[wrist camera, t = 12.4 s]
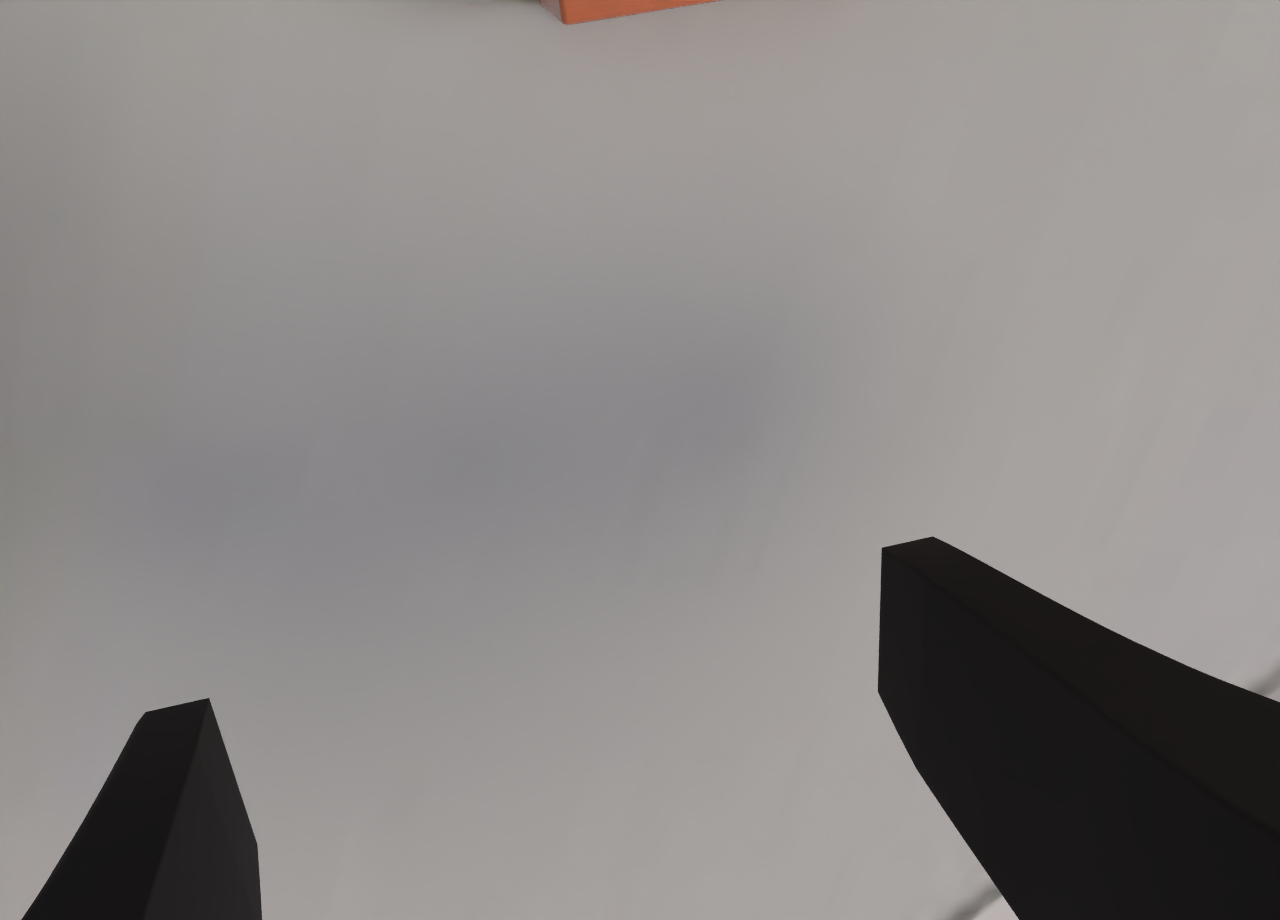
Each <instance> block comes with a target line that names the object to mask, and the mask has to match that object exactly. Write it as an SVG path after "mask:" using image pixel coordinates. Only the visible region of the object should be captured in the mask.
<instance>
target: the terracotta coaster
mask: <svg viewBox="0 0 1280 920" xmlns="http://www.w3.org/2000/svg"><path fill="white" fill-rule="evenodd" d="M715 1H722V0H539V2H540V4H541V6H542V7H543V8H545V9H546V10H547V11H548V12H550V13H551V14H552V15H553V16H555V17H556V18H557V19H558V20H559V21H561V22H562V23H563V24H566V25H572V24H578V23H584V22H590V21H597V20H603V19H609V18H615V17H622V16H628V15H634V14H640V13H647V12H653V11H659V10H665V9H672V8H678V7H684V6H690V5H697V4H703V3H709V2H715Z"/></svg>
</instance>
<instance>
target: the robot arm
mask: <svg viewBox="0 0 1280 920" xmlns="http://www.w3.org/2000/svg"><path fill="white" fill-rule="evenodd" d="M878 693H879V695H880V697H881V699H882V701H883V703H884V705H885V707H886V709H887V711H888V713H889V716H890V718H891V720H892V722H893V724H894V726H895V728H896V730H897V732H898V734H899V736H900V738H901V740H902V742H903V744H904V746H905V748H906V750H907V751H908V753H909V755H910V757H911V759H912V761H913V763H914V765H915V767H916V769H917V770H918V772H919V773H920V775H921V776H922V778H923V779H924V781H925V782H926V784H927V785H928V787H929V788H930V790H931V791H932V793H933V794H934V796H935V797H936V799H937V800H938V802H939V803H940V805H941V806H942V808H943V809H944V811H945V812H946V814H947V815H948V817H949V818H950V820H951V821H952V822H953V824H954V825H955V827H956V828H957V830H958V831H959V833H960V834H961V836H962V837H963V839H964V840H965V841H966V843H967V844H968V846H969V847H970V849H971V850H972V852H973V853H974V855H975V856H976V857H977V859H978V860H979V862H980V863H981V865H982V866H983V868H984V869H985V871H986V872H987V873H988V875H989V876H990V878H991V879H992V881H993V882H994V884H995V885H996V887H997V888H998V889H999V891H1000V892H1001V894H1002V895H1003V897H1004V898H1005V900H1006V901H1007V903H1008V904H1009V905H1010V907H1011V908H1012V910H1013V911H1014V912H1015V914H1016V916H1017V917H1018V919H1019V920H1280V702H1277V701H1275V700H1272V699H1270V698H1267V697H1264V696H1262V695H1259V694H1256V693H1254V692H1251V691H1248V690H1246V689H1243V688H1240V687H1238V686H1235V685H1233V684H1230V683H1227V682H1225V681H1222V680H1220V679H1217V678H1215V677H1212V676H1210V675H1208V674H1205V673H1203V672H1200V671H1198V670H1196V669H1193V668H1191V667H1189V666H1186V665H1184V664H1182V663H1180V662H1178V661H1175V660H1173V659H1171V658H1169V657H1167V656H1164V655H1162V654H1160V653H1158V652H1156V651H1154V650H1151V649H1149V648H1147V647H1145V646H1143V645H1140V644H1138V643H1136V642H1134V641H1132V640H1130V639H1128V638H1126V637H1124V636H1122V635H1120V634H1118V633H1116V632H1114V631H1111V630H1109V629H1107V628H1105V627H1103V626H1101V625H1099V624H1097V623H1095V622H1094V621H1092V620H1090V619H1088V618H1086V617H1084V616H1082V615H1080V614H1078V613H1076V612H1074V611H1072V610H1070V609H1068V608H1067V607H1065V606H1063V605H1061V604H1059V603H1057V602H1055V601H1053V600H1051V599H1050V598H1048V597H1046V596H1044V595H1042V594H1040V593H1038V592H1036V591H1035V590H1033V589H1031V588H1029V587H1027V586H1025V585H1024V584H1022V583H1020V582H1018V581H1016V580H1014V579H1013V578H1011V577H1009V576H1007V575H1005V574H1003V573H1002V572H1000V571H998V570H996V569H994V568H993V567H991V566H989V565H987V564H985V563H983V562H981V561H980V560H978V559H976V558H974V557H972V556H970V555H969V554H967V553H965V552H963V551H961V550H959V549H957V548H955V547H953V546H951V545H949V544H947V543H945V542H943V541H941V540H939V539H937V538H935V537H929V538H924V539H920V540H915V541H911V542H906V543H902V544H897V545H893V546H888V547H884V548H882V561H881V597H880V634H879V670H878ZM22 920H262V911H261V893H260V878H259V863H258V849H257V842H256V839H255V836H254V833H253V830H252V827H251V824H250V821H249V818H248V815H247V812H246V809H245V806H244V803H243V800H242V797H241V794H240V791H239V788H238V785H237V782H236V779H235V776H234V772H233V769H232V766H231V763H230V760H229V757H228V754H227V751H226V748H225V745H224V742H223V739H222V736H221V733H220V730H219V727H218V724H217V721H216V718H215V715H214V712H213V709H212V706H211V703H210V700H209V698H207V699H202V700H198V701H193V702H189V703H184V704H180V705H175V706H171V707H166V708H162V709H157V710H153V711H148V712H145V714H144V715H143V716H142V717H141V719H140V720H139V721H138V723H137V724H136V726H135V728H134V730H133V732H132V734H131V735H130V737H129V739H128V741H127V743H126V745H125V747H124V748H123V750H122V752H121V754H120V756H119V758H118V760H117V762H116V763H115V765H114V767H113V769H112V771H111V773H110V774H109V776H108V778H107V780H106V782H105V784H104V785H103V787H102V789H101V791H100V792H99V794H98V796H97V798H96V800H95V801H94V803H93V805H92V807H91V808H90V810H89V812H88V814H87V815H86V817H85V819H84V821H83V822H82V824H81V826H80V827H79V829H78V831H77V832H76V834H75V836H74V837H73V839H72V841H71V842H70V844H69V846H68V847H67V849H66V850H65V852H64V854H63V855H62V857H61V859H60V860H59V862H58V864H57V865H56V867H55V869H54V870H53V872H52V874H51V875H50V877H49V879H48V880H47V882H46V883H45V885H44V887H43V888H42V890H41V891H40V893H39V894H38V896H37V897H36V899H35V900H34V902H33V903H32V905H31V906H30V908H29V909H28V911H27V912H26V914H25V915H24V917H23V918H22Z"/></svg>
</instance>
